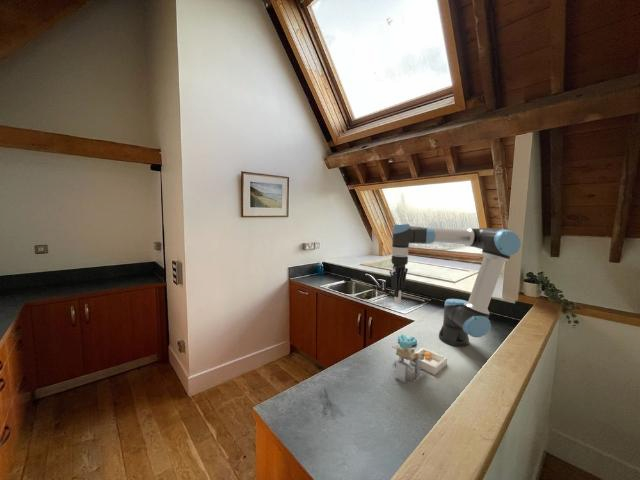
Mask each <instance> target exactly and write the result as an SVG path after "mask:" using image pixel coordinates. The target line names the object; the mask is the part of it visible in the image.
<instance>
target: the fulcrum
mask: <svg viewBox="0 0 640 480" xmlns="http://www.w3.org/2000/svg"><path fill="white" fill-rule="evenodd" d="M398 357H399V358H398V359H397V360H396V361H395V362H396V363H395V370H394V373H395V374H394V377H395V379H397V380H398V381H400V382H402V383H404V384H405V383H407V382H408V380H409V381H411V382H412V383H416V382H418V381H419V379H421V378H422V377H423V376H424V374H423V373H421V368H420V362H421V359H419V358H418V359H417V360H411V361H413V362H415V365H414V367H415V368H414V369H413V368H411V367H410V366H409V364H408V363H407V362H405V359H404V358H402V357H400V356H398Z"/></svg>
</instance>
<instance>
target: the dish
mask: <svg viewBox="0 0 640 480" xmlns="http://www.w3.org/2000/svg"><path fill="white" fill-rule="evenodd" d="M425 352H430V353H431V358H430V359H427V358H425V356H424V360H421V362H420V370H423V371H426V372H428V373H430V374H432V375H434V376H436V375H437V374H438V373H439V372H441V371H442V370H443V369H444V368H446V366H448V357H447V356H444V355H441V354H438V353H436V352H435V351H432V350H430V349H428V348H424V347H421V348H420V349H419V350H417V351H414V353H425ZM409 363H410V364H411V365H413V366H415V362H413V361H411V360H409Z"/></svg>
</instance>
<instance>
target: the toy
mask: <svg viewBox="0 0 640 480" xmlns="http://www.w3.org/2000/svg"><path fill="white" fill-rule="evenodd" d="M397 341H398V343H399V347H401V348H404V349H413V348H412V347H413V346H416V345H417V342H418V341H417V339H416V337H414V336H410V337H407V336H406V335H405V334H401V335H398V336H397Z"/></svg>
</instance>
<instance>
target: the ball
mask: <svg viewBox="0 0 640 480" xmlns="http://www.w3.org/2000/svg"><path fill="white" fill-rule="evenodd" d="M424 354H425V358H427V359H430V358H431V353H430V352H425V353H424Z"/></svg>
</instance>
